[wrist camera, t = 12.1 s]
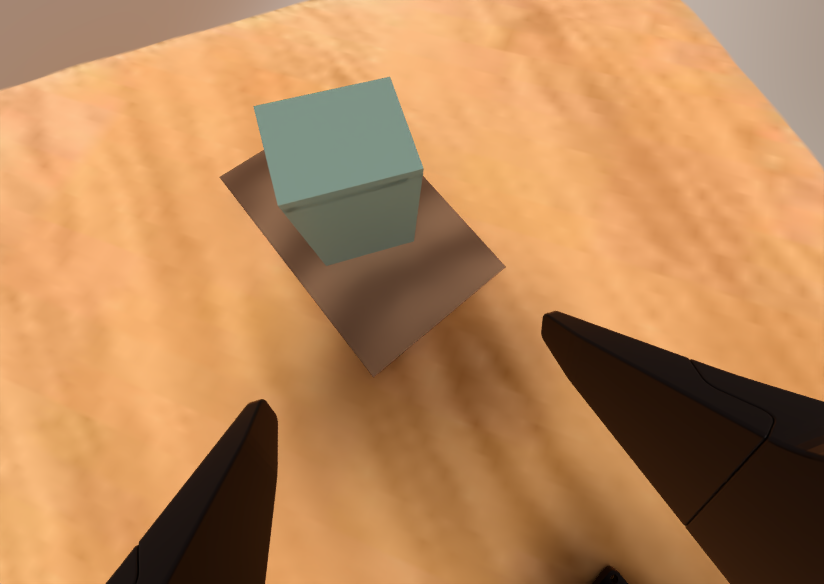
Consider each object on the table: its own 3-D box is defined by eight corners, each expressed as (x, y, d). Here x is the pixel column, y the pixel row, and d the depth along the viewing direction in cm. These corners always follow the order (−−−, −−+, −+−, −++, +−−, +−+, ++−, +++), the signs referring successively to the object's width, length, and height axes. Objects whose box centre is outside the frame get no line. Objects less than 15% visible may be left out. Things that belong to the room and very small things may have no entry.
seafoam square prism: (413, 241, 23) (423, 168, 14) (326, 265, 22) (277, 205, 13) (393, 179, 24) (390, 76, 15) (308, 201, 23) (253, 106, 14)
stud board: (499, 272, 24) (526, 249, 19) (375, 375, 22) (368, 381, 17) (353, 110, 27) (342, 53, 22) (230, 187, 25) (186, 144, 20)
